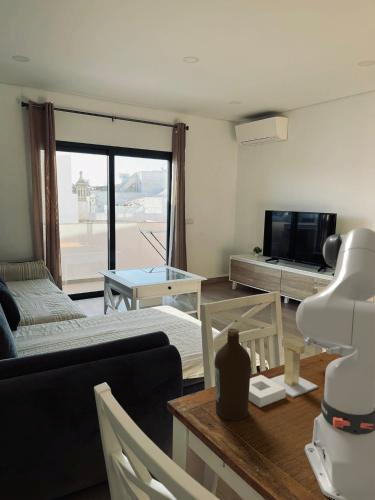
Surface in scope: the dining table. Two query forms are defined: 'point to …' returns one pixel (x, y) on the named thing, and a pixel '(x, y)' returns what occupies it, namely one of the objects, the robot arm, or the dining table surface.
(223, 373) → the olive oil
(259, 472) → the dining table surface
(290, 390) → the white mat
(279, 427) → the dining table surface
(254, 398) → the socket block
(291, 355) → the t key
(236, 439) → the dining table surface
